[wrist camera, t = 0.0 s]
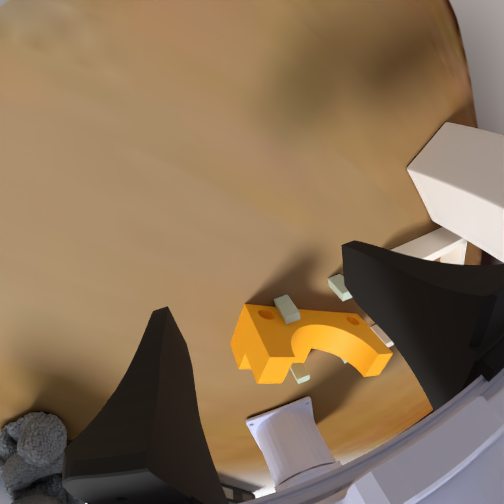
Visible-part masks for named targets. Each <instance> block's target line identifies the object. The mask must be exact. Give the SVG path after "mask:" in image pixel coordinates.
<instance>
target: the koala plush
mask: <svg viewBox="0 0 504 504" xmlns="http://www.w3.org/2000/svg"><path fill="white" fill-rule="evenodd" d="M2 430H3V431H1V433H0V473H1V474H2V475H1V476H2V477H1V478H2V482H3V485H4V490H5V493H6V494H7V495H8V497H9V498H10V499H11V501H12V504H85V502H84V501H82V500H80V499H78V498H76V497H74V496H73V495H71V494H70V493H68V492H67V491H66V489H65V488H64V487H63V485H62V469H63V454H64V448H66V447H67V445H66V443H67V442H66V440H67V435H66V434H67V431H66V428H65V425H64V424H63V423H62V421H61V420H60V419H59V418H58V417H57V416H56V415H52V414H51V413H50V414H45V413H44V412H37V413H36V412H35V413H32V412H31V413H29V414H28V415H24V417H23V418H19V419H18V420H17V422H12V423H9V424H8V425H5V427H4V428H3V429H2Z"/></svg>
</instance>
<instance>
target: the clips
mask: <svg viewBox="0 0 504 504" xmlns="http://www.w3.org/2000/svg"><path fill="white" fill-rule="evenodd" d="M328 284H329V287H330V288H331V289H332V290H333V291H334V292H335V293H336V294H337V295H338V297H339V298H340V299H341V300H342V301H345V300H347V299H350V298H352V296H351V294H350V293H349V291H348V290H347V288H346V287H345V286H344V277H343V276H342V275H341V274H338V275H335V276H333V277H330V278H328ZM341 359H342V358H341ZM342 361H343V362H344V363H347V361H346V360H344V359H342Z"/></svg>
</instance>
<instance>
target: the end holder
mask: <svg viewBox="0 0 504 504" xmlns="http://www.w3.org/2000/svg"><path fill="white" fill-rule="evenodd" d="M466 246H467V240H466V239H464V238H462V237H460V236H459V235H457V234H455V233H453V232H452V231H450V230H448V229H446V228H444V227H441V228H439V229H437V230H434V231H432V232H430V233H428V234H426V235H423V236H421V237H419V238H417V239H414V240H412V241H410V242H407V243H405V244H403V245H400V246H398V247H396V248H393V249H391V251H394V252H398V253H401V254H405V255H409V256H413V257H417V258H421V259H425V260H431V261H433V260H435V259H437V258H439V257H440V262H442V263H450V264H461V265H464V259H465V253H466ZM370 328H371V329H372V330H373V331H374V333H375V334H376V335H377V336H378V337H379V338H380V339H381V340H382V341H383V343H384V344H385V345H386V346H387V347H390V346H392V345H394V343H393V342H392V341H391V340H390V338H389V337H388V336H387V335H386V334H385V333H384V332H383V331H382V329H381V328H380V327H379V326H378V325H377V324H376V325H374V326H371V327H370Z"/></svg>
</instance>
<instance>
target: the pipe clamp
mask: <svg viewBox="0 0 504 504" xmlns="http://www.w3.org/2000/svg"><path fill="white" fill-rule="evenodd" d="M298 311H299V313H300V319H299V320H297V321H294V322H292V323H289V324H287V325H286V324H285V322H284V320H283V318H282V317H281V315H280V313H279V312H278V310H277V308H276V307H271V306H261V305H252V304H244V307H243V309H242V312H241V315H240V318H239V321H238V324H237V326H236V329H235V332H234V335H233V338H232V340H231V343H230V345H231V348H232V351H233V354H234V357H235V360H236V362H237V365H238V368H239V369H252V372H253V374H254V377H255V379H256V382H257V384H266V383H282V382H283V380H284V378H285V377H286V375H287V373H288V371H289V369H290V367H291V365H292V363H304V361H305V359H306V357H307V355H308V354H309V352H310V350H311V348H312V349H318V350H323V351H326V352H329V353H332V354H334V355H336V356H338V357H340V358H342V359H344V360H346V361H347V362H349V363H350V364H351V365H353V366H354V367H355V368H356V369H357V370H358V371H359V372H360V373H361V374H362V375H363V376H364V377H367V376H375V375H379V374H380V373H381V371H382V370H383V368H384V367H385V365H386V364H387V362H388V361H389V359H390V357H391V356H392V354H393V353H392V351H391V350H390V349H389V348H388V347H387V346H386V345H385V344H384V343H383V341H382V340H381V339H380V338H379V337H378V336H377V335H376V334H375V333H374V331H373V330H372V329H371V328H370V327H369V326H368V325H367V324H366V323H365V322H364V320H363V319H362V318H361V317H360V316H359V315H358V314H357V313H342V312H328V311H315V310H303V309H298Z"/></svg>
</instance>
